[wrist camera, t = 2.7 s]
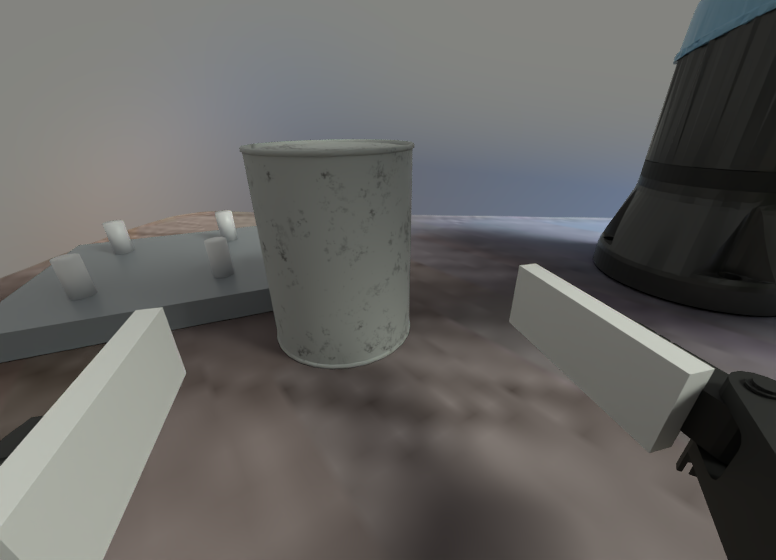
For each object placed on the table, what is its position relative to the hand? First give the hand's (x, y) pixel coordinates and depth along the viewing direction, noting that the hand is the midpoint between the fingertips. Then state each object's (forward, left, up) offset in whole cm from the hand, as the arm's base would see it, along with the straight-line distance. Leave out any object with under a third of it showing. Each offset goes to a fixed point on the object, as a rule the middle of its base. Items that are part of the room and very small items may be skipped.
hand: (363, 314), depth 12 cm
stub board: (+12, -23, -7) cm, 26 cm away
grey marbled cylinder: (-1, -10, -7) cm, 12 cm away
